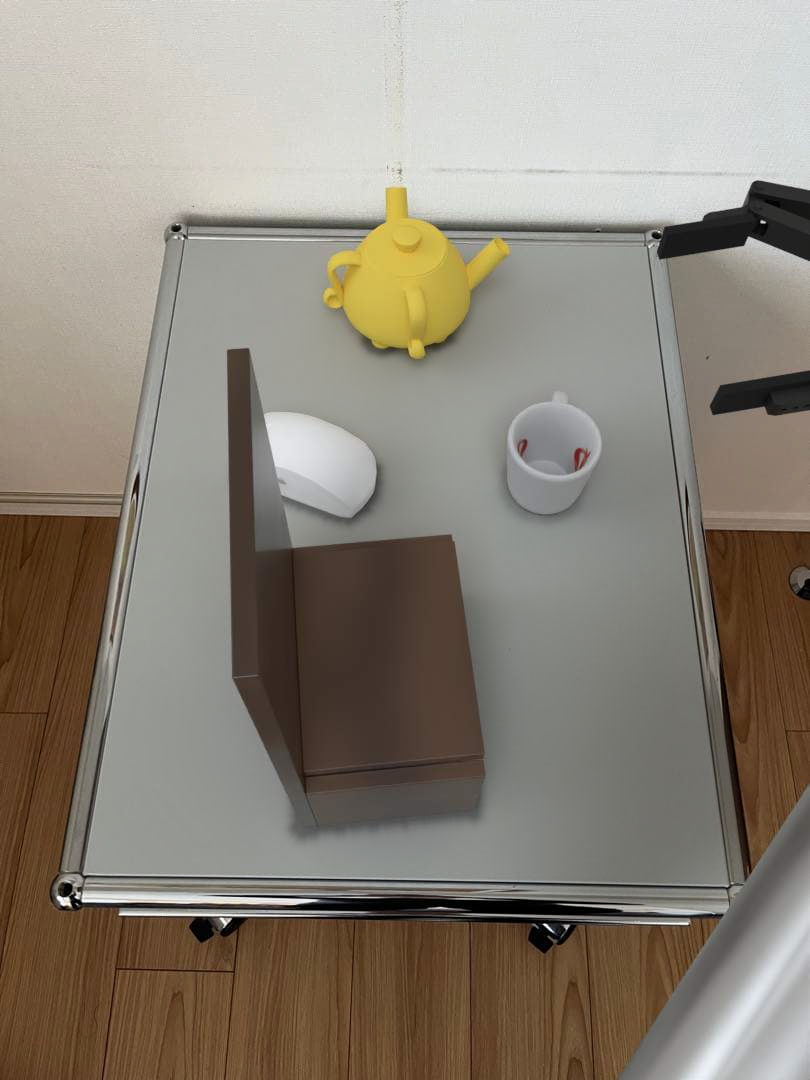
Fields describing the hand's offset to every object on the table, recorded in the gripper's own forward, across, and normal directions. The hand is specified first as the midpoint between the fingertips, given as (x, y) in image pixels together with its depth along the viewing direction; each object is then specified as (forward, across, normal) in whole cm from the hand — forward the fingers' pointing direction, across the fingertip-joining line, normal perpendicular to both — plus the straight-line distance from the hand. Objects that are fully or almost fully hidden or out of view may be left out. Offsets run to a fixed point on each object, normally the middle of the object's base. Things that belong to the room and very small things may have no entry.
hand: (687, 319), depth 66 cm
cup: (+8, 0, -22) cm, 23 cm away
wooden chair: (+26, -19, -19) cm, 37 cm away
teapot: (+17, +21, -23) cm, 36 cm away
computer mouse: (+29, +4, -21) cm, 36 cm away
